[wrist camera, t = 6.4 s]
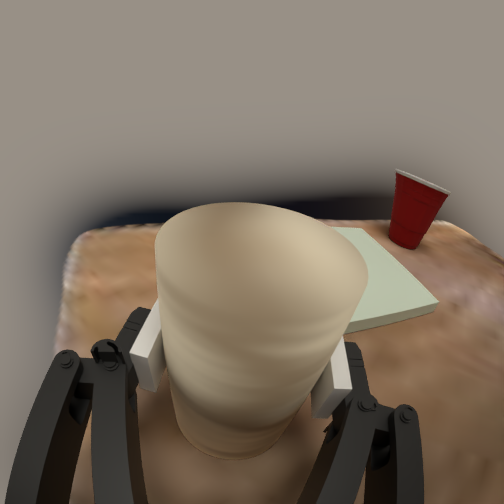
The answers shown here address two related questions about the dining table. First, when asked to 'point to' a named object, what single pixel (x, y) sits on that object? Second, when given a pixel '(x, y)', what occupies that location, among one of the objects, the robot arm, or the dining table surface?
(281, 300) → the birch roller
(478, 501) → the dining table surface
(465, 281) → the dining table surface
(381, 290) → the board
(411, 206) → the plastic cup
